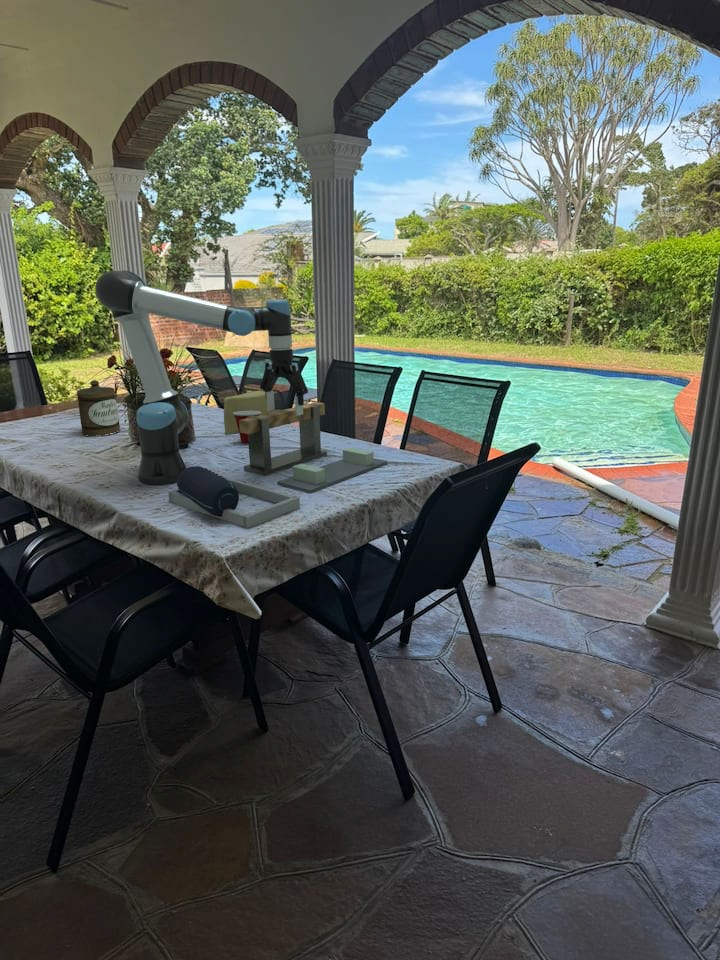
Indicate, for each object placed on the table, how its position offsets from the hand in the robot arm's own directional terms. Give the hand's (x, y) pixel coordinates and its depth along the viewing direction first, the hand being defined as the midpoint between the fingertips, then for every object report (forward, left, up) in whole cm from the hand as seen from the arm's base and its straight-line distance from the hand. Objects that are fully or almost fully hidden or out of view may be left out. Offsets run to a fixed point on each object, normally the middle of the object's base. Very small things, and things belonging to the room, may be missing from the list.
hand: (285, 412), depth 216 cm
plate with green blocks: (0, -22, -18) cm, 28 cm away
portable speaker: (-45, -14, -18) cm, 50 cm away
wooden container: (-14, +96, -18) cm, 99 cm away
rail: (0, 0, -4) cm, 4 cm away
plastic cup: (+12, +33, -18) cm, 39 cm away
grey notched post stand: (0, 0, -18) cm, 18 cm away
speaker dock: (-39, -18, -18) cm, 46 cm away
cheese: (+26, +50, -18) cm, 59 cm away
